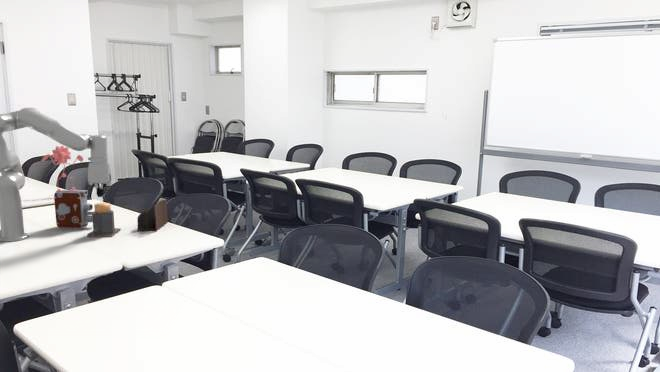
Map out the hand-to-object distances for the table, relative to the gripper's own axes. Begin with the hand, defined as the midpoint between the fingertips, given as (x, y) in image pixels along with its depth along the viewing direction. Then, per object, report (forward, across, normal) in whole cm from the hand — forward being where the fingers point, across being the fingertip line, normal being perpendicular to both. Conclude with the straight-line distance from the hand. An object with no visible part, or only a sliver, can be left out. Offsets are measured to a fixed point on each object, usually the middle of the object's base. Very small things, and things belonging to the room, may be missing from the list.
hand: (100, 196), depth 254 cm
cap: (+11, +1, 0) cm, 11 cm away
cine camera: (+20, -18, +13) cm, 30 cm away
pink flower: (+21, -64, +100) cm, 120 cm away
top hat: (+19, +1, 0) cm, 19 cm away
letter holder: (+19, +22, +14) cm, 32 cm away
